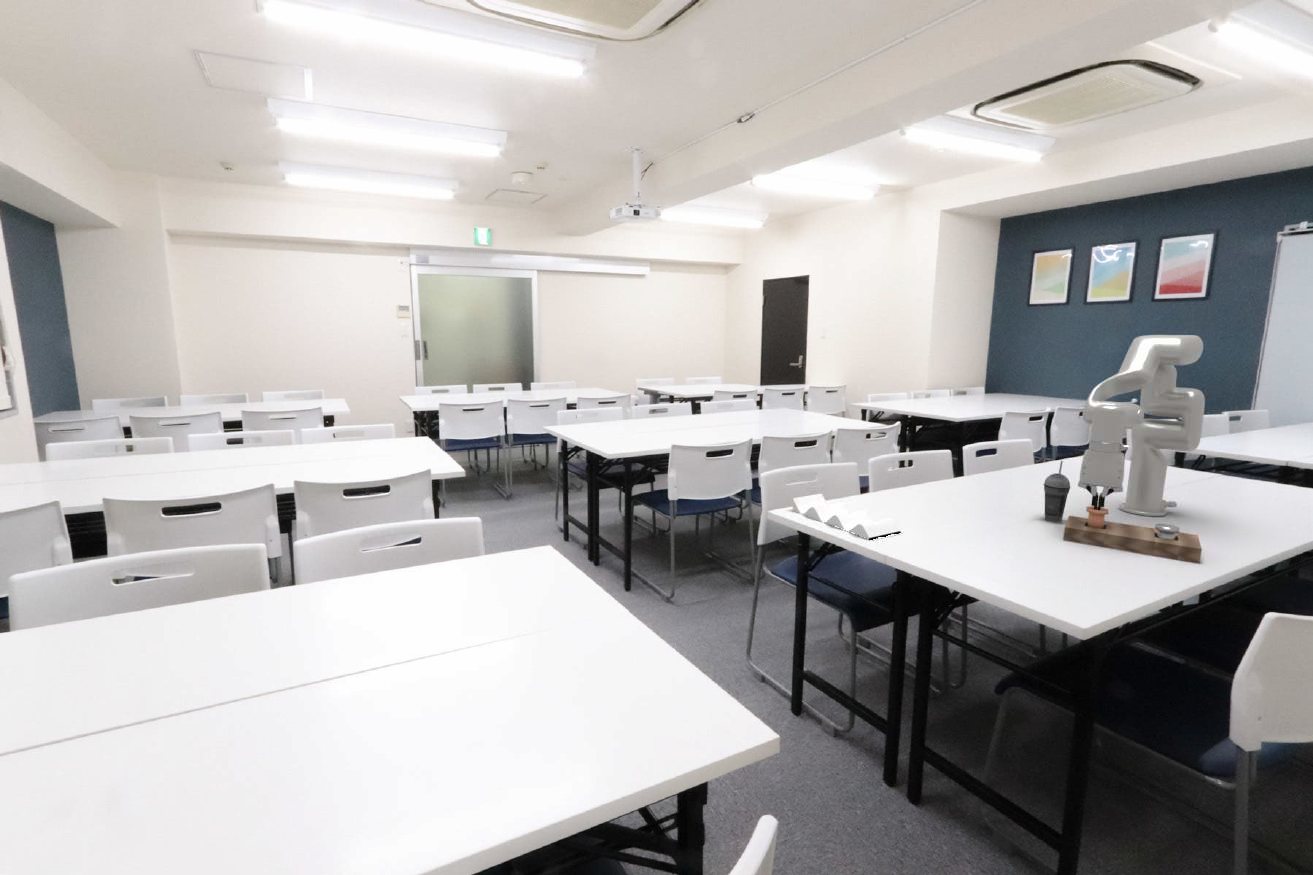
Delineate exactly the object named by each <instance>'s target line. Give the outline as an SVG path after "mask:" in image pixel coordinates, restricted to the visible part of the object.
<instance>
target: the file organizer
mask: <svg viewBox="0 0 1313 875" xmlns="http://www.w3.org/2000/svg"><path fill="white" fill-rule="evenodd" d="M792 512H794V513H797V514H799V513H801V514H800V515H802V516H804V515H806V516H805V517H807V516H808V518H810V519H812V518H813V520H815V521H817V522H820V521H827V522H825V523H827V524H826V525H828V524H831V525H833V526H837V527H839V528H842V529H851V530H849V532H853V533H855V534H858V535H860V536H862V537H865V538H867V539H869V540H868V541H870V540H872V541H874V540H873V539H876V538H878V537H885V538H887V537H886V536H888V535H891V534H898V535H900V534H899V533H901V534H902V532H901V530H900V528H899V527H898V524H897V522H896V521H895V520H894V518H892V517H888V518H887V517H886V518H882V519H877V520H874V519H873V518H872V515H871V514H870V512H869V511H868V510H867V509H859V510H854V511H850V510H849V508H848V506H846V504H845V503H844V502H843V501H837V502H833V503H827V501H826V499H825V497H824V495H823V493H818V494H817V493H816V494H810V495H805V496H798V497H793V498H792ZM825 523H824V524H825ZM833 526H832V527H833ZM849 532H848V533H849ZM862 537H861V538H862ZM867 539H866V540H867Z"/></svg>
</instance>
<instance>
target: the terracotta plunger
mask: <svg viewBox="0 0 1313 875" xmlns="http://www.w3.org/2000/svg"><path fill="white" fill-rule="evenodd" d="M1097 509H1098V506H1097ZM1097 509H1096V510H1094V506H1091V505H1090V506H1086V512H1087V513H1088V525H1087V527H1093V528H1100V529H1103V526H1104V521H1105V516H1107V515H1109V509H1108V508H1105V507H1101V510H1097Z"/></svg>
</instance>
